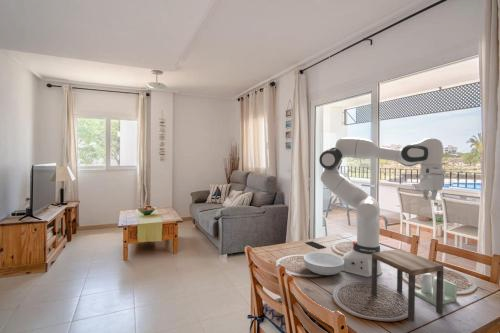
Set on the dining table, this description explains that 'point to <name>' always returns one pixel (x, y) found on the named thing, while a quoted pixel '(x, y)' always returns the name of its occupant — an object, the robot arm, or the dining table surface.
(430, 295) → the glasses tray
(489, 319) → the dining table surface
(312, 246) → the smartphone
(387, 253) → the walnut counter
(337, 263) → the serving bowl
